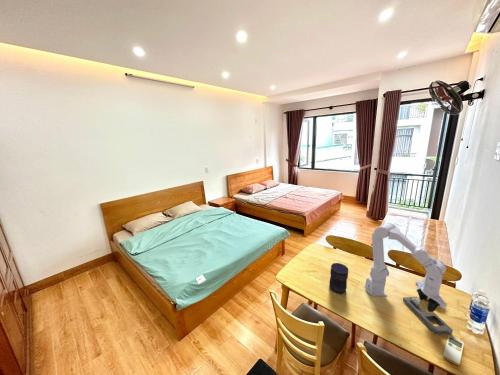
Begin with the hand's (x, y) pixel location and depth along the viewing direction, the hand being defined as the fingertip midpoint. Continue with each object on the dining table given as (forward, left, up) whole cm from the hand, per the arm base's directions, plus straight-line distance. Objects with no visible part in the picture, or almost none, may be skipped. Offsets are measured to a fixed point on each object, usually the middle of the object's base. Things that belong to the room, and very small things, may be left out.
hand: (426, 307), depth 99 cm
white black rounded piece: (+18, +17, -9) cm, 26 cm away
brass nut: (0, 0, -2) cm, 2 cm away
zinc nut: (+3, +8, -9) cm, 12 cm away
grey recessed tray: (+3, +3, -9) cm, 10 cm away
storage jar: (-33, +25, -9) cm, 42 cm away
